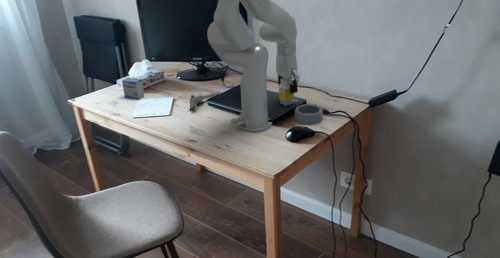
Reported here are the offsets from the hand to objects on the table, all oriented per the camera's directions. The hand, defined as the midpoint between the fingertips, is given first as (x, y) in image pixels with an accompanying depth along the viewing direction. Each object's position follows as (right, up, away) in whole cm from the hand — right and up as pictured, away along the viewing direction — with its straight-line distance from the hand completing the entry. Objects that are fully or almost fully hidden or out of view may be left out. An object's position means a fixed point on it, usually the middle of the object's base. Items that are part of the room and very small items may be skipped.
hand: (287, 88), depth 175 cm
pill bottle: (0, -6, +2) cm, 7 cm away
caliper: (-34, -5, +9) cm, 36 cm away
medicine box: (-68, -3, +18) cm, 71 cm away
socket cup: (+7, -13, -12) cm, 19 cm away
